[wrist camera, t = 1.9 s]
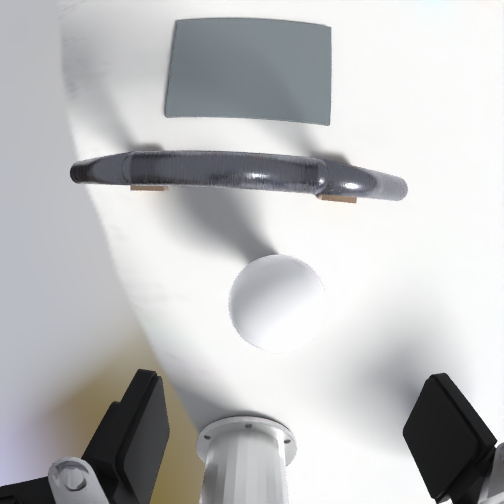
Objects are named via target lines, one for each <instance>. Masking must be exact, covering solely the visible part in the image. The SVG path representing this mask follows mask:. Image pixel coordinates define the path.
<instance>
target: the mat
mask: <svg viewBox="0 0 504 504" xmlns="http://www.w3.org/2000/svg"><path fill="white" fill-rule="evenodd" d="M330 112H331V27H327V26H321V25H315V24H308V23H300V22H291V21H280V20H267V19H246V18H212V19H191V20H178V24H177V30H176V36H175V42H174V48H173V55H172V62H171V69H170V77H169V85H168V94H167V104H166V114H165V116H166V117H167V118H171V117H228V118H251V119H267V120H280V121H291V122H301V123H310V124H319V125H326V126H329V125H330Z"/></svg>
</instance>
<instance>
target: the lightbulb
mask: <svg viewBox="0 0 504 504" xmlns="http://www.w3.org/2000/svg"><path fill="white" fill-rule="evenodd" d="M228 307H229V315H230V318H231V321H232V324H233V326H234V328H235V330H236V331H237V333H238V334H239V335H240V336H241V337H242V338H243V339H244V340H245V341H246V342H247V343H248V344H250V345H251V346H253V347H255V348H257V349H259V350H262V351H266V352H271V353H284V352H289V351H293V350H296V349H298V348H300V347H302V346H304V345H305V344H307V343H308V342H309V341H310V340H311V339H312V338H313V337H314V336H315V335H316V334H317V333H318V331H319V330H320V328H321V326H322V324H323V322H324V319H325V316H326V311H327V295H326V291H325V287H324V285H323V283H322V281H321V279H320V277H319V276H318V274H317V273H316V272H315V271H314V270H313V269H312V268H311V267H310V266H309V265H308V264H306V263H305V262H303V261H301V260H299V259H297V258H295V257H292V256H287V255H269V256H265V257H261V258H259V259H257V260H255V261H253V262H251V263H250V264H248V265H247V266H246V267H245V268H244V269H243V270H242V271H241V272H240V273H239V274H238V276H237V277H236V279H235V280H234V282H233V284H232V287H231V290H230V294H229V301H228Z"/></svg>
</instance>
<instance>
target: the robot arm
mask: <svg viewBox="0 0 504 504" xmlns="http://www.w3.org/2000/svg"><path fill="white" fill-rule="evenodd" d="M403 436H404V439H405V441H406V443H407V445H408V447H409V449H410V451H411V454H412V456H413V458H414V460H415V462H416V465H417V467H418V469H419V471H420V473H421V476H422V478H423V480H424V482H425V485H426V487H427V489H428V492H429V494H430V496H431V498H433V499H435V501H436V504H439V503H442V502H445V501H447V500H449V499H450V498H451V500H452V503H451V504H504V443H501V444H500V445H498V447H497V448H495V446H494V445H495V444H496V443H497V440H496V438H495V437H494V435H493V434H492V433H491V431H490V430H489V428H488V427H487V426H486V424H485V423H484V422H483V420H482V419H481V418H480V416H479V415H478V414H477V412H476V411H475V410H474V408H473V407H472V406H471V404H470V403H469V402H468V400H467V399H466V398H465V396H464V395H463V394H462V393H461V391H460V390H459V389H458V388H457V386H456V385H455V384H454V382H453V381H452V380H451V379H450V377H449V376H448V375H447V374H446V373H440V374H433V375H431V376H430V377H429V379H427V380H426V382H425V384H424V386H423V388H422V391H421V393H420V395H419V397H418V400H417V402H416V404H415V406H414V408H413V410H412V412H411V414H410V416H409V418H408V420H407V422H406V424H405V426H404V428H403ZM168 438H169V423H168V417H167V411H166V404H165V397H164V390H163V382H162V378H161V376H157V373H156V372H155V371H149V370H143V369H138V371H137V373H136V374H135V376H134V378H133V380H132V381H131V383H130V385H129V387H128V389H127V391H126V392H125V394H124V396H123V398H122V400H121V402H116V401H114V402H113V403H112V404H111V405H110V407H109V409H108V410H107V412H106V414H105V416H104V417H103V419H102V421H101V423H100V425H99V426H98V428H97V430H96V432H95V434H94V436H93V437H92V439H91V441H90V443H89V445H88V447H87V448H86V450H85V452H84V454H83V456H82V458H81V459H79V458H75V457H64V458H61V459H58V460H57V461H56V462H54V463H53V464H52V465H51V467H50V468H49V472H48V476H47V477H43V478H38V479H34V480H30V481H25V482H21V483H16V484H10V485H5V486H1V487H0V504H149V503H150V499H151V495H152V492H153V489H154V485H155V482H156V478H157V475H158V471H159V468H160V465H161V461H162V458H163V455H164V451H165V448H166V444H167V442H168ZM196 450H197V453H198V456H199V457H200V459H201V460H202V461H203V462H204V463H205V464H206V466H205V472H204V478H203V485H202V490H201V496H200V502H199V504H289V500H288V487H287V475H286V466H288V465H289V464H290V463H291V462H292V461H293V459H294V458H295V455H296V451H297V446H296V440H295V438H294V436H293V434H292V433H291V432H290V431H289V430H288V429H287V428H285V427H284V426H283V425H281V424H279V423H277V422H274V421H271V420H268V419H264V418H259V417H250V416H238V417H230V418H225V419H221V420H218V421H215V422H213V423H211V424H209V425H208V426H206V427H205V428H204V429H203V430H202V431H201V432H200V434H199V436H198V438H197V443H196Z"/></svg>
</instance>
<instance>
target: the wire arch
mask: <svg viewBox="0 0 504 504" xmlns="http://www.w3.org/2000/svg"><path fill="white" fill-rule="evenodd" d="M70 177H71V179H72V180H73V181H74V182H75V183H78V184H109V185H131V190H149V191H165V190H168V186H191V187H218V188H238V189H255V190H270V191H283V192H296V193H307V194H318V199H321V200H328V201H338V202H348V203H356V199H357V197H362V198H373V199H384V200H394V201H399V200H402V199H403V198H404V197H405V196H406V195H407V191H408V187H407V184H406V182H405V181H404V180H403V179H402V178H400V177H397V176H393V175H389V174H385V173H381V172H377V171H373V170H369V169H365V168H361V167H356V166H352V165H347V164H343V163H338V162H333V161H329V160H324V159H319V158H310V157H301V156H290V155H278V154H264V153H248V152H227V151H134V152H128V153H121V154H115V155H109V156H104V157H98V158H93V159H88V160H83V161H78V162H76V163H75V164H74V165H73V166H72V167H71V170H70Z"/></svg>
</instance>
